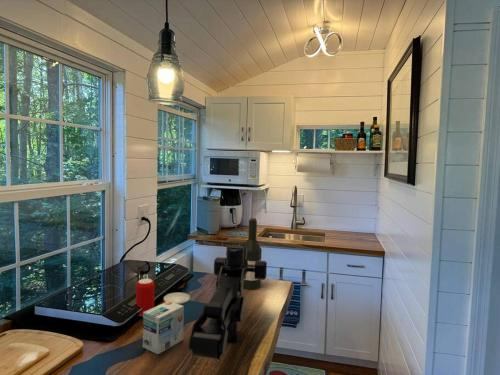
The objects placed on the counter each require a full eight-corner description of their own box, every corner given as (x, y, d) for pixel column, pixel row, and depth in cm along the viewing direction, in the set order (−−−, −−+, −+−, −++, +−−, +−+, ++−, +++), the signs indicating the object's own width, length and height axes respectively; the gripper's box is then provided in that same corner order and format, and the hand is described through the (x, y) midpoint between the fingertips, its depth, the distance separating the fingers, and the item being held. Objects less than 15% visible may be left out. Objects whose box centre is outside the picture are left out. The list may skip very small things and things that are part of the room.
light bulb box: (158, 355, 99) (158, 318, 98) (141, 347, 103) (141, 312, 102) (184, 339, 108) (185, 305, 107) (168, 333, 112) (168, 300, 111)
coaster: (184, 305, 132) (184, 303, 132) (159, 302, 134) (159, 301, 134) (193, 295, 142) (193, 293, 142) (169, 292, 144) (169, 291, 144)
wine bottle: (260, 290, 150) (262, 220, 147) (240, 289, 150) (242, 219, 147) (260, 283, 158) (262, 217, 155) (241, 282, 158) (243, 216, 155)
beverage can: (148, 308, 129) (148, 276, 128) (157, 314, 124) (157, 281, 123) (132, 313, 124) (132, 280, 123) (141, 319, 120) (141, 285, 119)
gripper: (264, 253, 117) (269, 242, 132) (209, 249, 119) (220, 239, 135) (263, 286, 118) (268, 271, 133) (209, 281, 120) (220, 267, 136)
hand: (244, 261), depth 134 cm, fingers open, 9 cm apart
